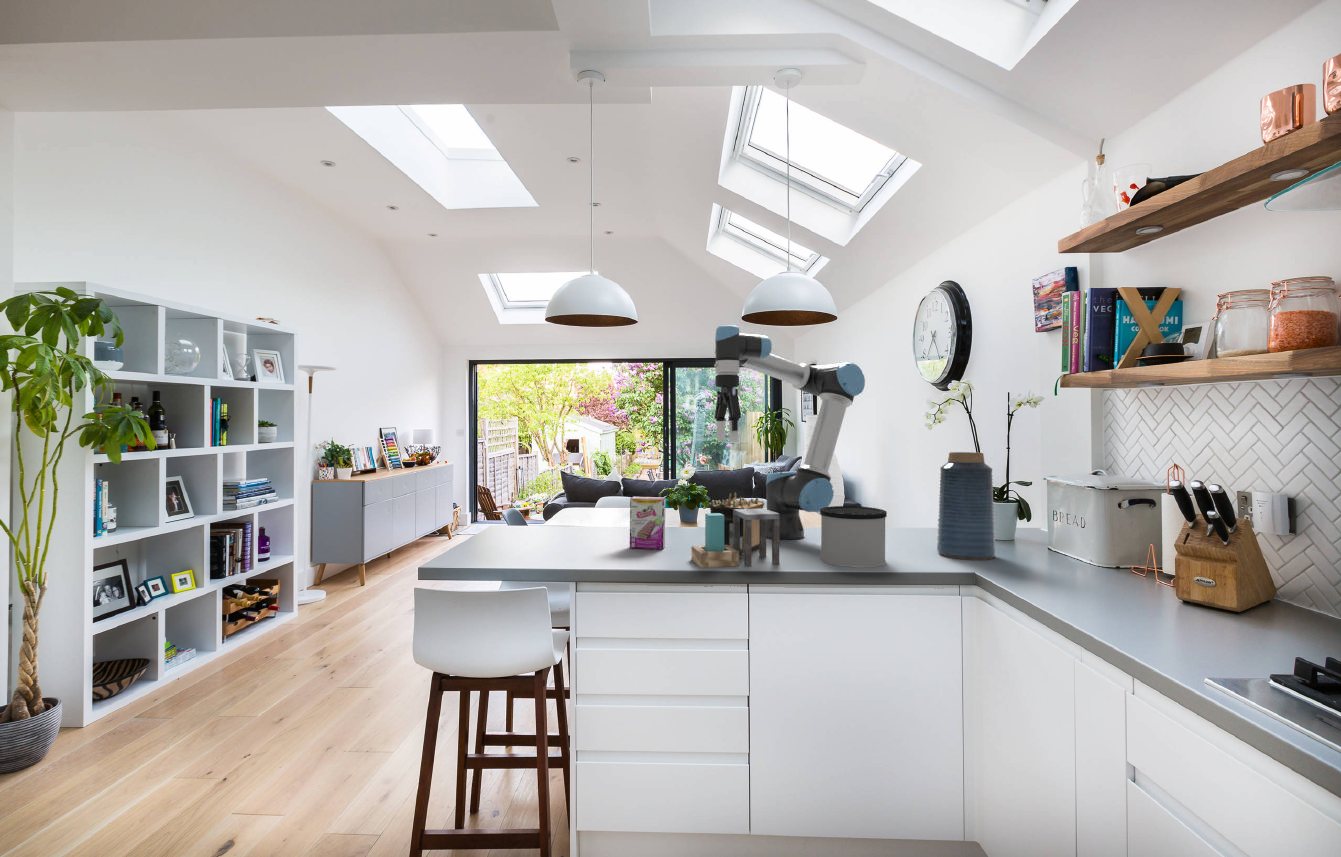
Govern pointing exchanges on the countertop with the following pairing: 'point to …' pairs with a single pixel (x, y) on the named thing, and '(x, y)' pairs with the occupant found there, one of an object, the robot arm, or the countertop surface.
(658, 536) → the candy bar box
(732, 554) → the socket station
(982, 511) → the vase
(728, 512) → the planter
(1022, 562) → the countertop surface
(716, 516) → the peg
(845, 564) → the container
